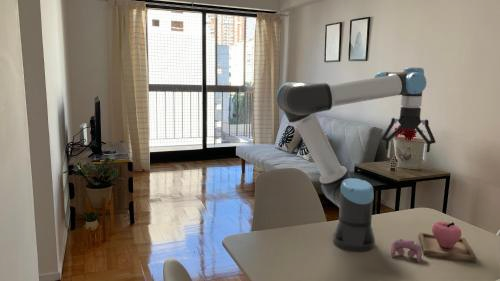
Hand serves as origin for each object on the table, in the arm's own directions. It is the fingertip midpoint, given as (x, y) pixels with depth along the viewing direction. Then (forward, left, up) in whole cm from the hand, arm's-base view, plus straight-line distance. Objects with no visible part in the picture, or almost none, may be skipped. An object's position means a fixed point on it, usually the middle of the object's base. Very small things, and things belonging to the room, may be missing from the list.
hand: (406, 158), depth 155 cm
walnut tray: (+14, -19, -29) cm, 37 cm away
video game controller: (0, -30, -29) cm, 42 cm away
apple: (+14, -19, -28) cm, 37 cm away
